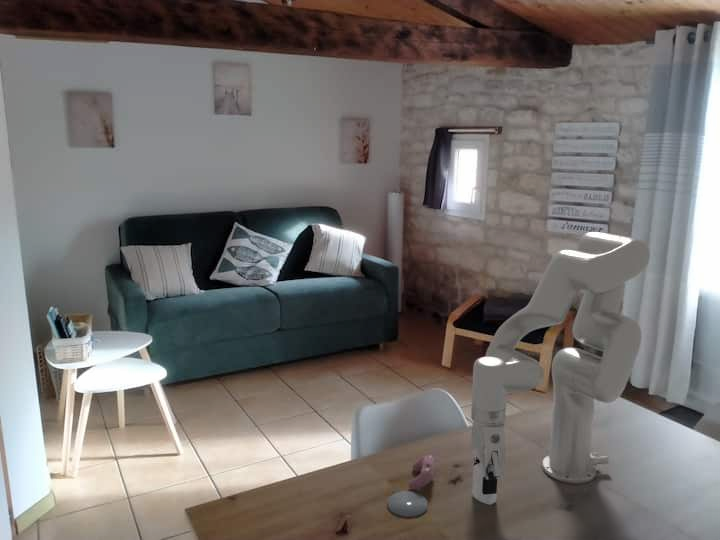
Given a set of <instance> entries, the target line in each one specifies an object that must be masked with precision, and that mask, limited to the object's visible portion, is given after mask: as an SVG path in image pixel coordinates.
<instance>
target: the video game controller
mask: <svg viewBox="0 0 720 540" xmlns="http://www.w3.org/2000/svg"><path fill="white" fill-rule="evenodd" d="M436 461H437V460H436V457H435V456H432V455H429V454H427V455H425V456H423V457H422V458H421V459H419V460H417V461H416V462H414V463H413V465H412V470H413V471H414V472H420V474H419V475H417V476H416V477H415V478H413V479H411V480H410V481H409V482H408V485H407V486H408V487H407V488H408V489H409V490H410V491H416V490H420V489H421V488H424V487H425V486H426V485H428V484H429V483H431V482H433V481H434V479H435V477H434V467H435V463H436Z"/></svg>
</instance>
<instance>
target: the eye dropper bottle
mask: <svg viewBox="0 0 720 540" xmlns="http://www.w3.org/2000/svg"><path fill="white" fill-rule="evenodd" d="M488 464H492V462H489V463H488ZM492 470H493V468H488V473H489V472H490V471H492ZM483 477H485V476H484V466H483V465H482V464H481V462H480V463H478V464H476V465H475V466H474V465H473V471H472V489H471V490H472V491H471V493H472V496H473V497H474V499H475V500H476V501H477V502H481V503H482V504H486V505H489V506H491V505H494V504H495V503H496V502H497V497H498V496H497V495H498V492H497V493H496V494H486V495H484V494H483V493H482V485H483Z"/></svg>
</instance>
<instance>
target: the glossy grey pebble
mask: <svg viewBox="0 0 720 540" xmlns="http://www.w3.org/2000/svg"><path fill="white" fill-rule="evenodd" d="M387 507H388V510H390V512H391V513H393V514H395V515H398V516H400V517H404V518H414V517H415V518H416V517H419V516H421V515H423V514H424V513H425V512H426V511H427V509H428V507H429V506H428V500H427V499H426V497H425V496H423V495H422V494H420V493H418V492H414V491H411V490H410V491H409V490H407V491H406V490H404V491H403V490H402V491H398V492H394V493H393V494H392V495H389V497H388V499H387Z"/></svg>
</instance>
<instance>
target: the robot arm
mask: <svg viewBox="0 0 720 540" xmlns="http://www.w3.org/2000/svg"><path fill="white" fill-rule="evenodd" d="M650 259H651V251H650V248H649V246H648V245H647V244H646V242H645V241H643V240H641V239H639V238H636V237H633V236H632V237H630V236H625V235H620V234H614V233H610V232H609V233H608V232H603V231H602V232H601V231H600V232H599V231H590V232H586V233H585V234H583V235H581V237H580V239H579V241H578V245H577V250H574V249H562V250H559V251H557V252H556V253H554V255H553V256H552V258H551V259H550V262H549V263H548V265H547V267H546V269H545V271H544V273H543V274H542V277H541V279H540V281H539V283H538V285H537V286H536V288H535V291H534V293H533V295H532V297H531V299H530V300H529V302H528V304H527V305H526V306H525V307H524V308H522V309H519V311H517V312H516V313H514V314H513V315H512V316H510V317H509V318H508V319H507V320H505V321H504V322H503V323H502V324H501V325H500V326H499V327H498V329H497V330H496V332H495V333H494V336H493V337H492V340H491V341H490V342H489V346H488V347H487V350H486V352H485V355H484V356H482V357H479V358H477V359H476V360H475V361H474V363H473V369H472V389H471V410H470V412H471V413H470V419H471V420H472V426H471V427H472V428H471V449H472V451H473V452H474V454H473V462H474V463H473V467H474V466H475V465H476V464H478V463H480V462H481V464H482V465H483V466H484V476H485V477H483V485H482V493H483V494H484V495H486V494H496V493H497V494H498V479H499V476H501V475H502V474H501V467H504V466H505V464H506V431H505V424H504V423H506V417H507V414H506V413H507V397H508V393H509V392H519V391H520V392H521V391H522V392H525V391H530V390H533V389H535V388H537V387H539V385H541V383H542V381H543V379H544V375H545V374H544V373H545V372H544V368H543V366H542V365H541V364H542V363H540V362H539V361H538V360H536V359H535V358H533V357H531V356H529V355H526V354H524V353H522V352H520V351H517V350H516V348H517V346H518V344H519V342H520V341H521V340H522V339H523V338H524V337H525V336H526V335H528V334H529V333H530V332H533V331H536V330H538V329H542V328H543V329H544V328H547V327H552V326H558V325H560V324H562V323H564V321H565V319H566V318H567V315H568V313H569V311H570V309H571V307H572V305H573V303H574V301H575V299H576V298H577V295H578V294H579V291H581V292H584V293H583V297H582V299H581V302H580V305H579V308H578V310H577V313H576V315H575V319H574V322H573V325H572V336H573V338H574V339H575V340H576V341H577V342H579V343H580V344H582V345H585V346H587V347H591V348H593V349H595V350H597V351H601V352H603V353H602V355H601V356H598V355H597V354H595V353H591V352H589V351H586V350H583V349H582V348H577V347H569V346H568V347H565V348H562V349H560V350H558V351H557V352H556V353H555V355H554V357H553V359H552V361H551V379H552V384H553V404H552V414H551V415H552V416H551V417H552V418H551V428H550V429H551V430H550V442H549V455H547V456H546V457H544V458H543V460H542V463H541V464H542V465H541V467H542V470H543V472H545V473H546V474H547V475H548V476H550V477H551V478H553V479H555V480H557V481H560V482H563V483H569V484H585V483H589V482H590V481H593V480H594V479H595V476H596V468H595V467H596V466H597V465H608V464H609V457H608V456H607V455H600V456H599V453H598V452H597V451H596V452H591V451H592V439H593V427H594V417H595V401H594V400H596V401H598V402H599V403H600V402H601V403H605V404H607V403H608V404H609V403H612V402H615V401H616V400H618V399H619V397H620V396H621V395H622V394H623V392H624V390H625V388H626V386H627V383H628V382H629V381H628V380H629V378H630V375H631V372H632V370H633V367H634V364H635V362H636V359H637V355H638V353H639V351H640V347H641V344H642V330H641V327H640V324H639V323H638V322H637V321H636V320H635V319H634V318H631V317H630V316H627V315H624V314H620V313H619V311H620V308H621V304H622V301H623V298H624V294H625V288H624V284H625V283H626V282H627V281H629V280H632V279H633V278H636V277H637V276H639V275H640V274H641V273H642V272H643V271H644V270H645V269H646V268H647V266H648V264H649V263H650ZM489 462H491V464H488V463H489ZM488 468H493V470H492V471H490V472H489V473H488Z"/></svg>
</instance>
